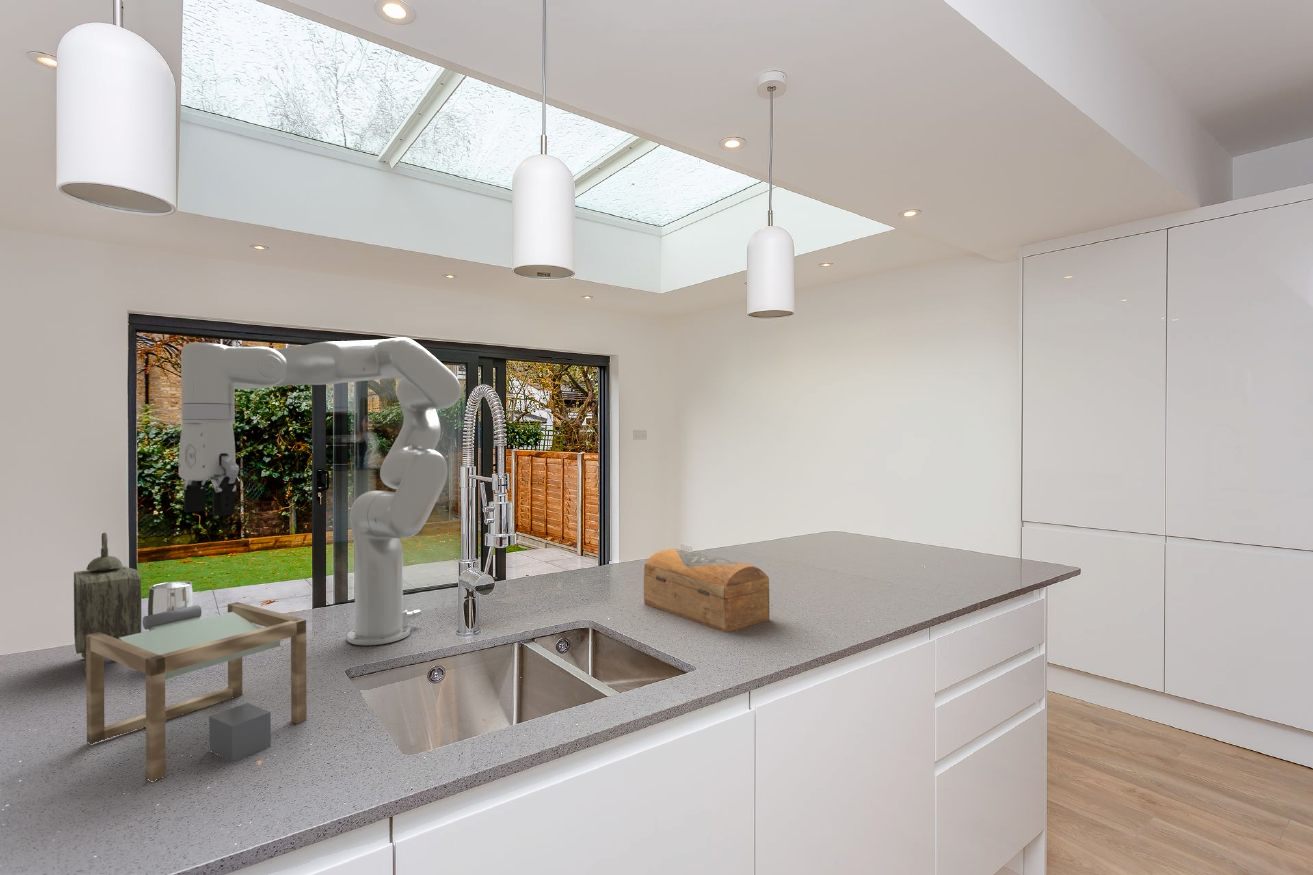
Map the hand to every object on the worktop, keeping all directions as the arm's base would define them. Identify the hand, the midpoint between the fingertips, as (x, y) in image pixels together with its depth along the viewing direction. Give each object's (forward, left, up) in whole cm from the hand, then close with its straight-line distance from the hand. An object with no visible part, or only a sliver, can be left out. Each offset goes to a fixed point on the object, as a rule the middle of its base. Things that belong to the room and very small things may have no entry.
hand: (209, 513), depth 109 cm
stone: (+9, +24, -28) cm, 38 cm away
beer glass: (-2, -19, -31) cm, 36 cm away
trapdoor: (+9, +16, -17) cm, 25 cm away
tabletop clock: (+4, -30, -31) cm, 43 cm away
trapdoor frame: (+9, +17, -30) cm, 36 cm away
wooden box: (-85, +55, -31) cm, 106 cm away
